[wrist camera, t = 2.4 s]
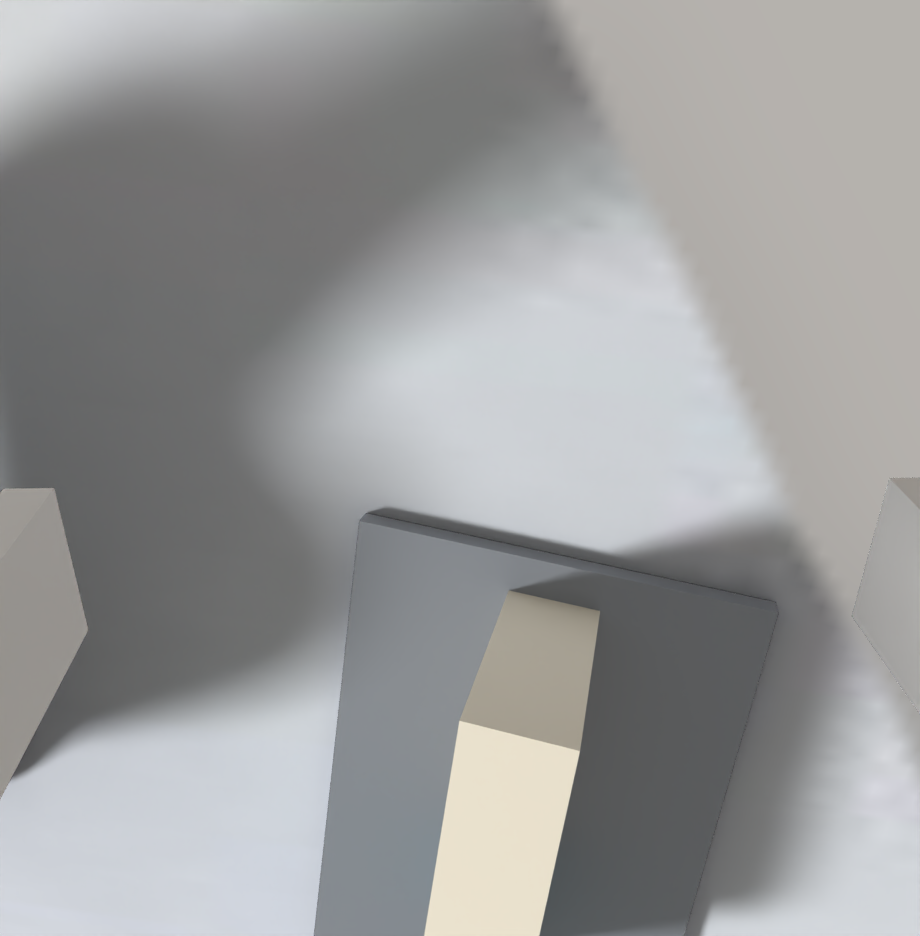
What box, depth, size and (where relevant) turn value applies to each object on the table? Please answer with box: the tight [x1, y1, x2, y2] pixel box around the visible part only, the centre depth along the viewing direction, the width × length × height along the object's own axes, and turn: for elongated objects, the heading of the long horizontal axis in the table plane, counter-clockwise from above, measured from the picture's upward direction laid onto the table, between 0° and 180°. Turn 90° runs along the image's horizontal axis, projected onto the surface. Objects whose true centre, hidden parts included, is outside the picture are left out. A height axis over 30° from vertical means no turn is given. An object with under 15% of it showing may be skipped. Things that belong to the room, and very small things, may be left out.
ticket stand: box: [314, 513, 779, 936], centre depth 38 cm, size 28×18×11 cm, turn 172°
